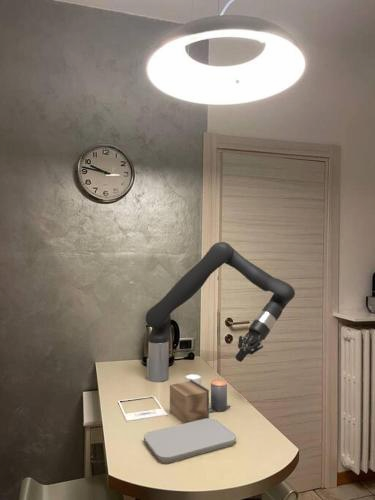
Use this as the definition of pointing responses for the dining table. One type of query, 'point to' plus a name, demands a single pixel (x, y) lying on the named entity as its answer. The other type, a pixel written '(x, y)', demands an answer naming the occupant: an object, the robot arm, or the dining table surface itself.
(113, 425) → the dining table surface
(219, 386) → the push knob
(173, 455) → the tablet
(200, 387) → the brown rectangular block
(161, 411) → the photo frame
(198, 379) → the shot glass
